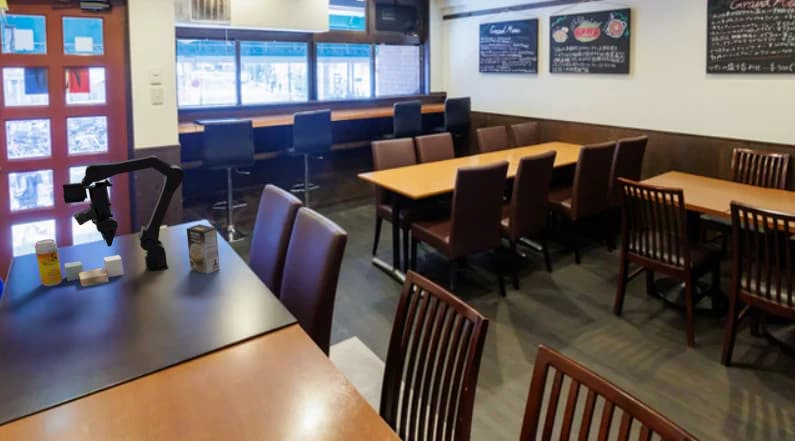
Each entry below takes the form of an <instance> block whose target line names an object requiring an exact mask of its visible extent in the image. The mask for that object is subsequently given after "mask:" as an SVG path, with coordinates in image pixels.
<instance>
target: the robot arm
mask: <svg viewBox="0 0 795 441" xmlns="http://www.w3.org/2000/svg"><path fill="white" fill-rule="evenodd" d="M151 168H152V169H154V170H156V171H158V172H159V173H160V174H162V175H164V176H163V177H164V178H163V186H162V190H161V191H160V194H159V197H158V200H157V202H156V205H155V206H154V209H153V212H152V215H151V218H150V220H149V222H148V224H147V225H146V226H144V225H142V226H141V228H140V232H139V233H138V235H137V237H138V242H139V244H140V246H139V247H141V248H140V249H142V250H144V251H145V256H144V263H145V267H146V269H147V270H148V271H149V272H154V271H160V270H164V269H169V265H168V262H167V253H166V252H167V251H166V250H165V246H164V243H163V242H162V241H161V240H160V230H161V226H162V224H163V221H164V219H165V216H166V214H167V211H168V209H169V206H170V203H171V201H172V199H173V196H174V194H175V192H176V191H177V189H178V188H179V187H180V185H182V183H183V181H184V179H185V173H184V171H183V169H182V168H180V167H179V166H178V165H175V164H173V165H172V164H170V163H168V162H166V161H164V160H162V159H161V158H159V157H157V156H156V155H154V154H153V155H152V154H150V155H148V156H143V157H139V158H133V159H128V160H122V161H118V162H117V161H116V162H91V163H89V164H88V165H86V168H85V172H84V176H83V178H82V179H81V182H72V183H70V182H69V183H67V182H66V183H63V184H62V190H63V191H62V192H63V201H64V204H65V205H68V204H69V205H70V204H79V203H84V202H85V201H86V200H87V199H88V198H89V201H90V203H89V207H87V208H85V209H83V210H81V211H79V212H77V213H75V214H73V218H74V219H75V221H76V222H77V224H78V225H79V226H83V225H85V224H86V223H87V222H89V221H91V223H92V224H94V225H95V227H96V230H97V232H98V233H100V234H101V237H102V239H103V241H105V243H106V245H107V247H112V246H113V242H114V238H115V235H116V232H117V230H118V228H119V224H118V221H117V219H115V218H114V214H113V213H112V207H111V206H112V203H111V201H110V197H109V196H110V195H109V191H108V188H109V187H113V185H114V184H113V182H112V181H110V180H108V179H109V178H111V177H114V176H116V175H120V174H126V173H131V172H135V171H136V172H137V171H141V170H146V169H151ZM93 183H94V184H93ZM87 192H88V193H87ZM88 195H89V197H88Z"/></svg>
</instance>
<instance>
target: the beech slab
mask: <svg viewBox="0 0 795 441" xmlns="http://www.w3.org/2000/svg"><path fill="white" fill-rule="evenodd" d="M78 274H79V279H80V280H79V279H78V280H79V282H80V286H81V287H82V286H83V287H87V286H93V285H98V284H103V283H108V282H109V277H108V275H107V273H106V270H105V267H102V268H101V267H100V268H96V269H89V270H85V271H84V270H83V272H78Z"/></svg>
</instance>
